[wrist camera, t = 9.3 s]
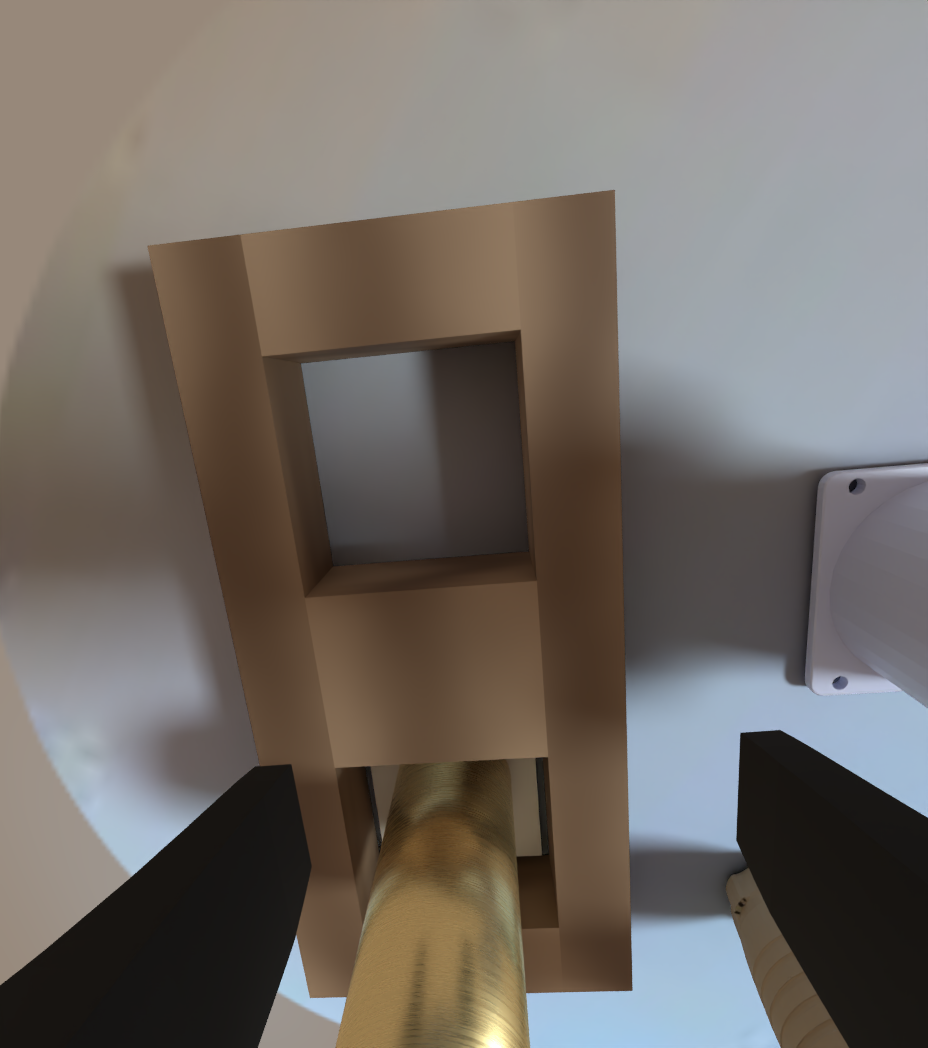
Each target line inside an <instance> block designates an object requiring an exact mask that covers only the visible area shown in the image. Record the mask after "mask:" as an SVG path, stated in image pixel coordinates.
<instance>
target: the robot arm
mask: <svg viewBox="0 0 928 1048" xmlns="http://www.w3.org/2000/svg"><path fill="white" fill-rule="evenodd" d="M854 479H856V480H857V486H856V488H855V489H854V490H853V491H852V492H849V488H848V487H849V484H850V482H852V481H853V480H854ZM839 676H841V677H840V680H839V681H838V682H836V683H833V680H834V679H835V678H836V677H839ZM832 683H833V684H832ZM805 684H806V686H807V687H808V688H809V689H810V690H811V691H812V692H813V693H815V694H817V695H822V696H827V695H845V694H863V693H880V692H898V691H904V692H905V693H907V694H908V695H910V696H911V697H912V698H914V699H915V700H917V701H918V702H920V703H921V704H922V705H924V706H925V707H927V708H928V463H924V464H912V465H900V466H888V467H876V468H864V469H852V470H840V471H833V472H829V473H827V474H826V475H824V476H823V477H822V479H821V480H820V481H819V485H818V493H817V507H816V522H815V537H814V551H813V566H812V580H811V595H810V610H809V624H808V639H807V653H806V668H805ZM736 841H737V843H738V845H739V847H740V849H741V852H742V854H743V856H744V858H745V861H746V863H747V865H748V867H749V870H750V872H751V874H752V876H753V879H754V881H755V883H756V885H757V887H758V889H759V891H760V893H761V895H762V898H763V900H764V902H765V904H766V906H767V908H768V910H769V912H770V914H771V916H772V918H773V919H774V921H775V923H776V925H777V926H778V928H779V930H780V932H781V933H782V935H783V937H784V939H785V940H786V942H787V944H788V945H789V947H790V949H791V950H792V952H793V954H794V956H795V957H796V959H797V961H798V962H799V964H800V966H801V968H802V969H803V971H804V973H805V974H806V976H807V978H808V980H809V981H810V983H811V985H812V986H813V988H814V990H815V991H816V993H817V995H818V996H819V998H820V1000H821V1001H822V1003H823V1005H824V1006H825V1008H826V1010H827V1012H828V1013H829V1015H830V1017H831V1018H832V1020H833V1022H834V1023H835V1025H836V1027H837V1028H838V1030H839V1032H840V1033H841V1035H842V1037H843V1038H844V1040H845V1042H846V1043H847V1045H848V1047H849V1048H928V818H927V817H926V816H924V815H922V814H920V813H919V812H917V811H915V810H914V809H912V808H910V807H909V806H907V805H905V804H904V803H902V802H900V801H899V800H897V799H895V798H894V797H892V796H890V795H889V794H887V793H885V792H884V791H882V790H880V789H879V788H877V787H875V786H874V785H872V784H871V783H869V782H867V781H866V780H864V779H862V778H861V777H859V776H857V775H856V774H854V773H852V772H851V771H849V770H847V769H846V768H844V767H843V766H841V765H839V764H838V763H836V762H834V761H833V760H831V759H829V758H828V757H826V756H824V755H823V754H821V753H819V752H818V751H816V750H814V749H813V748H811V747H809V746H808V745H806V744H804V743H802V742H801V741H799V740H797V739H795V738H794V737H792V736H790V735H788V734H786V733H785V732H783V731H781V730H775V731H761V732H746V733H741V734H740V760H739V786H738V812H737V839H736ZM311 868H312V864H311V859H310V854H309V849H308V844H307V839H306V834H305V830H304V825H303V820H302V815H301V810H300V805H299V800H298V795H297V790H296V785H295V780H294V775H293V770H292V765H291V764H285V765H271V766H257V767H254V768H253V769H252V770H250V771H249V772H248V773H247V774H245V775H244V776H243V777H242V778H241V779H240V780H238V781H237V782H236V783H235V784H234V785H233V786H232V787H231V788H229V789H228V790H227V791H226V792H225V793H224V794H223V795H222V796H221V797H220V798H218V799H217V800H216V801H215V802H214V803H213V804H212V805H211V806H210V807H209V808H207V809H206V810H205V811H204V812H203V813H202V814H201V815H200V816H199V817H198V818H197V819H195V820H194V821H193V822H192V823H191V824H190V825H189V826H188V827H187V828H186V829H184V830H183V831H182V832H181V833H180V834H179V835H178V836H177V837H176V838H174V839H173V840H172V841H171V842H170V843H169V844H168V845H167V846H166V847H164V848H163V849H162V850H161V851H160V852H159V853H158V854H157V855H156V856H154V857H153V858H152V859H151V860H150V861H149V862H148V863H147V864H145V865H144V866H143V867H142V868H141V869H140V870H139V871H138V872H137V873H135V874H134V875H133V876H132V877H131V878H130V879H129V880H127V881H126V882H125V883H124V884H123V885H122V886H120V887H119V888H118V889H117V890H116V891H114V892H113V893H112V894H111V895H110V896H108V898H106V899H105V900H104V901H103V902H102V903H100V904H99V905H98V906H97V907H95V908H94V909H93V910H92V911H91V912H90V913H88V914H87V915H86V916H85V917H84V918H82V919H81V920H80V921H79V922H78V923H77V924H75V925H74V926H73V927H72V928H71V929H69V930H68V931H67V932H66V933H65V934H63V935H62V936H61V937H60V938H59V939H58V940H56V941H55V942H54V943H53V944H52V945H50V946H49V947H48V948H47V949H46V950H45V951H43V952H42V953H41V954H39V955H38V956H37V957H36V958H34V959H33V960H32V961H31V962H29V963H28V964H27V965H26V966H24V967H23V968H22V969H21V970H19V971H18V972H17V973H15V974H14V975H13V976H12V977H10V978H9V979H8V980H7V981H5V982H4V983H3V984H2V985H0V1048H258V1045H259V1042H260V1039H261V1036H262V1034H263V1031H264V1028H265V1025H266V1022H267V1019H268V1016H269V1013H270V1011H271V1008H272V1005H273V1002H274V999H275V996H276V993H277V991H278V988H279V985H280V982H281V979H282V976H283V973H284V970H285V967H286V964H287V961H288V958H289V955H290V952H291V949H292V946H293V943H294V940H295V936H296V932H297V928H298V924H299V920H300V916H301V912H302V908H303V904H304V900H305V895H306V891H307V886H308V882H309V877H310V873H311Z"/></svg>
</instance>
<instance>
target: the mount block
mask: <svg viewBox="0 0 928 1048" xmlns="http://www.w3.org/2000/svg"><path fill="white" fill-rule="evenodd" d="M148 251H149V255H150V260H151V264H152V269H153V274H154V278H155V283H156V288H157V292H158V297H159V301H160V306H161V311H162V315H163V320H164V325H165V329H166V334H167V338H168V343H169V348H170V352H171V357H172V362H173V366H174V371H175V375H176V380H177V385H178V389H179V394H180V399H181V403H182V408H183V412H184V417H185V422H186V426H187V431H188V436H189V440H190V445H191V449H192V454H193V459H194V463H195V468H196V473H197V477H198V482H199V486H200V491H201V496H202V500H203V505H204V509H205V514H206V519H207V523H208V528H209V533H210V537H211V542H212V546H213V551H214V556H215V560H216V565H217V570H218V574H219V579H220V583H221V588H222V593H223V597H224V602H225V607H226V611H227V616H228V620H229V625H230V630H231V634H232V639H233V644H234V648H235V653H236V657H237V662H238V667H239V671H240V676H241V681H242V685H243V690H244V694H245V699H246V704H247V708H248V713H249V718H250V722H251V727H252V731H253V736H254V741H255V745H256V750H257V755H258V759H259V764H260V766H271V765H285V764H291V765H292V770H293V775H294V780H295V785H296V790H297V795H298V800H299V805H300V810H301V815H302V820H303V825H304V830H305V834H306V839H307V844H308V849H309V854H310V859H311V864H312V868H311V873H310V877H309V882H308V886H307V891H306V895H305V900H304V904H303V908H302V912H301V916H300V920H299V924H298V928H297V932H296V935H297V939H298V944H299V949H300V953H301V958H302V963H303V967H304V972H305V976H306V981H307V986H308V990H309V995H310V998H326V997H347V994H348V990H349V986H350V981H351V977H352V972H353V968H354V964H355V959H356V955H357V950H358V946H359V942H360V937H361V933H362V928H363V924H364V920H365V915H366V911H367V906H368V902H369V897H370V893H371V889H372V884H373V880H374V875H375V871H376V867H377V862H378V858H379V848H378V842H377V836H376V829H375V823H374V817H373V811H372V805H371V798H370V792H369V786H368V780H367V773H366V767H365V766H370V767H371V773H372V780H373V786H374V792H375V799H376V805H377V811H378V818H379V824H380V830H381V837H382V840H383V836H384V831H385V827H386V823H387V818H388V814H389V809H390V805H391V801H392V796H393V792H394V787H395V783H396V779H397V774H398V770H399V765H401V764H420V763H440V762H459V761H479V760H498V759H506V761H507V763H508V766H509V769H510V774H511V786H512V800H513V814H514V828H515V843H516V857H517V871H518V885H519V899H520V914H521V928H522V942H523V956H524V970H525V985H526V993H549V992H594V991H632V951H631V905H630V860H629V815H628V770H627V725H626V680H625V634H624V589H623V544H622V499H621V454H620V408H619V363H618V318H617V273H616V228H615V190H609V191H601V192H593V193H584V194H576V195H568V196H559V197H551V198H543V199H534V200H526V201H518V202H509V203H501V204H493V205H484V206H476V207H468V208H459V209H451V210H443V211H434V212H426V213H417V214H409V215H401V216H392V217H384V218H376V219H367V220H359V221H351V222H342V223H334V224H326V225H317V226H309V227H301V228H292V229H284V230H276V231H267V232H259V233H251V234H242V235H234V236H225V237H217V238H209V239H200V240H192V241H184V242H175V243H167V244H159V245H150V246H148ZM513 341H515V351H516V366H517V381H518V396H519V411H520V426H521V441H522V456H523V471H524V486H525V501H526V516H527V531H528V546H529V551H527V552H514V553H500V554H487V555H474V556H461V557H448V558H435V559H422V560H409V561H396V562H383V563H370V564H357V565H344V566H333V562H332V556H331V549H330V543H329V537H328V531H327V525H326V518H325V512H324V506H323V500H322V493H321V487H320V481H319V475H318V468H317V462H316V456H315V450H314V444H313V437H312V431H311V425H310V419H309V412H308V406H307V400H306V394H305V388H304V381H303V375H302V369H301V363H309V362H318V361H328V360H338V359H348V358H357V357H367V356H377V355H387V354H396V353H406V352H416V351H426V350H435V349H445V348H455V347H464V346H474V345H484V344H494V343H503V342H513ZM537 757H543V771H544V786H545V801H546V816H547V831H548V846H549V855H542V848H541V833H540V819H539V805H538V791H537V777H536V763H535V758H537Z"/></svg>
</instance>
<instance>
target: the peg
mask: <svg viewBox="0 0 928 1048" xmlns="http://www.w3.org/2000/svg"><path fill="white" fill-rule="evenodd" d="M336 1048H530V1041H529V1027H528V1013H527V999H526V985H525V970H524V956H523V942H522V928H521V914H520V899H519V885H518V871H517V857H516V843H515V828H514V814H513V800H512V786H511V774H510V769H509V766H508V763H507V761H506V759H498V760H479V761H459V762H440V763H420V764H401V765H399V770H398V774H397V779H396V783H395V787H394V792H393V796H392V801H391V805H390V809H389V814H388V818H387V823H386V827H385V831H384V836H383V840H382V845H381V849H380V853H379V858H378V862H377V867H376V871H375V875H374V880H373V884H372V889H371V893H370V897H369V902H368V906H367V911H366V915H365V920H364V924H363V928H362V933H361V937H360V942H359V946H358V950H357V955H356V959H355V964H354V968H353V972H352V977H351V981H350V986H349V990H348V994H347V999H346V1003H345V1008H344V1012H343V1016H342V1021H341V1025H340V1030H339V1034H338V1039H337V1043H336Z"/></svg>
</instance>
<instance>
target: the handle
mask: <svg viewBox="0 0 928 1048" xmlns="http://www.w3.org/2000/svg"><path fill="white" fill-rule="evenodd" d="M726 892H727V896H728V899H729V902H730V904H731V914H732V917H733V920H734V924H735V926H736V929H737V932H738V934H739V937H740V939H741V943H742V946H743V950H744V953H745V957H746V960H747V963H748V966H749V969H750V972H751V975H752V978H753V980H754V983H755V985H756V988H757V991H758V993H759V996H760V998H761V1001H762V1003H763V1006H764V1008H765V1011H766V1014H767V1016H768V1019H769V1021H770V1024H771V1026H772V1028H773V1031H774V1033H775V1035H776V1038H777V1040H778V1042H779V1044H780V1047H781V1048H849V1047H848V1045H847V1043H846V1042H845V1040H844V1038H843V1037H842V1035H841V1033H840V1032H839V1030H838V1028H837V1027H836V1025H835V1023H834V1022H833V1020H832V1018H831V1017H830V1015H829V1013H828V1012H827V1010H826V1008H825V1006H824V1005H823V1003H822V1001H821V1000H820V998H819V996H818V995H817V993H816V991H815V990H814V988H813V986H812V985H811V983H810V981H809V980H808V978H807V976H806V974H805V973H804V971H803V969H802V968H801V966H800V964H799V962H798V961H797V959H796V957H795V956H794V954H793V952H792V950H791V949H790V947H789V945H788V944H787V942H786V940H785V939H784V937H783V935H782V933H781V932H780V930H779V928H778V926H777V925H776V923H775V921H774V919H773V918H772V916H771V914H770V912H769V910H768V908H767V906H766V904H765V902H764V900H763V898H762V895H761V893H760V891H759V889H758V887H757V885H756V883H755V881H754V879H753V876H752V874H751V872H750V870H749V867H748V868H747V869H746V870H744V871H742V872H740V873H738V874H733V875H731V876H730V878H729V879H728V882H727V884H726Z"/></svg>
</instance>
